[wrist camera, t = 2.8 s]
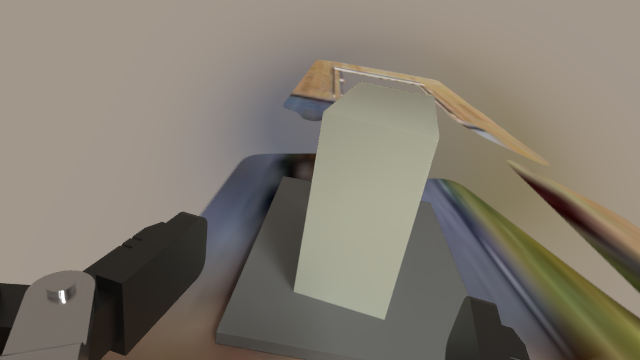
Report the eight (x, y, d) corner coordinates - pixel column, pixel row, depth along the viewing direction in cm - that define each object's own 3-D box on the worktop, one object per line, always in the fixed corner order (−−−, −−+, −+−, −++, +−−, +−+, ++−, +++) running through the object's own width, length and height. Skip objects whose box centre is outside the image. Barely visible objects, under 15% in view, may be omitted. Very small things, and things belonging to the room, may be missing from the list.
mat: (282, 182, 41) (283, 176, 41) (428, 209, 41) (430, 202, 41) (215, 342, 21) (216, 332, 21) (500, 395, 21) (505, 385, 21)
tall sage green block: (384, 319, 24) (439, 137, 19) (293, 291, 25) (323, 111, 20) (397, 225, 35) (434, 96, 30) (334, 209, 36) (360, 81, 31)
